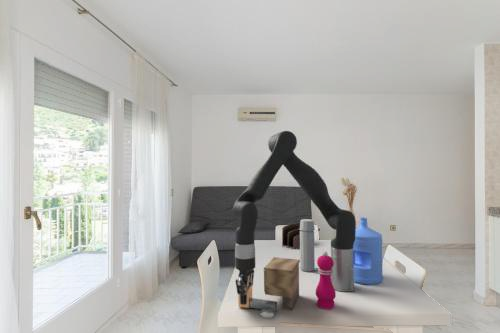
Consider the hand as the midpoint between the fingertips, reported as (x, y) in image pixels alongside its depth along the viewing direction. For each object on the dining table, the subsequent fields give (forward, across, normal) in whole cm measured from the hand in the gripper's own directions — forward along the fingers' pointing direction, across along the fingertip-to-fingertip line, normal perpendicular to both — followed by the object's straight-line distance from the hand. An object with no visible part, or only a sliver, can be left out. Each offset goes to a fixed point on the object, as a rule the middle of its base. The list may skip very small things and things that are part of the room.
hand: (245, 301), depth 114 cm
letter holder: (+2, +98, -1) cm, 98 cm away
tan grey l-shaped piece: (+1, 0, -5) cm, 5 cm away
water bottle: (+2, +50, -15) cm, 52 cm away
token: (+2, -4, -10) cm, 11 cm away
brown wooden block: (+2, +9, -12) cm, 15 cm away
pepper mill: (+2, +10, -28) cm, 30 cm away
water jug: (+2, +44, -42) cm, 61 cm away
